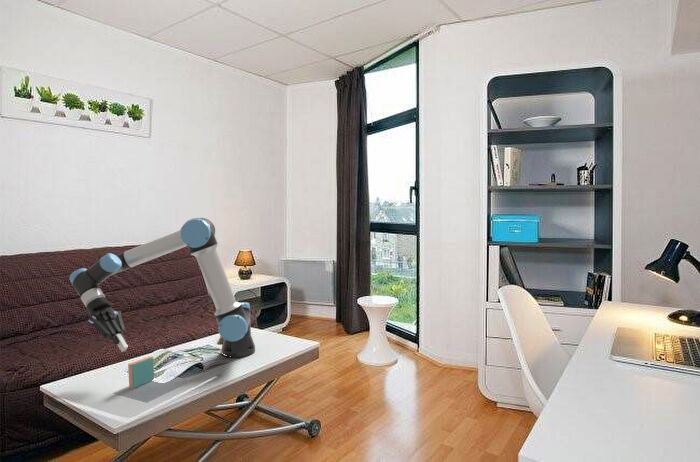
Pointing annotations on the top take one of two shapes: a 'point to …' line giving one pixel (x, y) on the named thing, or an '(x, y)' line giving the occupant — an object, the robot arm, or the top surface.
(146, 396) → the board
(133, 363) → the tile
